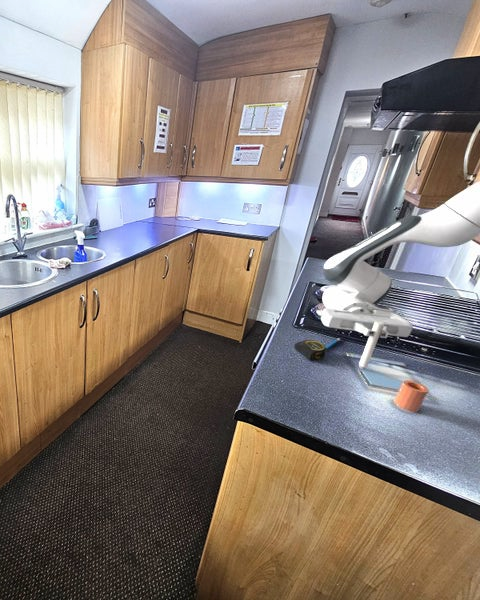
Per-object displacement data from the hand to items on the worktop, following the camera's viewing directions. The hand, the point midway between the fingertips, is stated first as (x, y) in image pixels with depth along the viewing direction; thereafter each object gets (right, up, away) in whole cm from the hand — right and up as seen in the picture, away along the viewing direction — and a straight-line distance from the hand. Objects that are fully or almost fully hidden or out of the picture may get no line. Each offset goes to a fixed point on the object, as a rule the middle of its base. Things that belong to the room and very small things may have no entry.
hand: (377, 334), depth 87 cm
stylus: (0, -10, +5) cm, 11 cm away
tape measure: (-10, -8, +12) cm, 17 cm away
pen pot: (-1, -16, -8) cm, 18 cm away
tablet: (+5, -12, +3) cm, 13 cm away
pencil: (-1, -6, +17) cm, 18 cm away
